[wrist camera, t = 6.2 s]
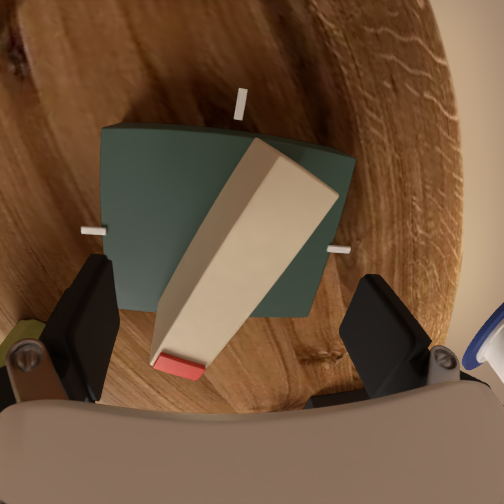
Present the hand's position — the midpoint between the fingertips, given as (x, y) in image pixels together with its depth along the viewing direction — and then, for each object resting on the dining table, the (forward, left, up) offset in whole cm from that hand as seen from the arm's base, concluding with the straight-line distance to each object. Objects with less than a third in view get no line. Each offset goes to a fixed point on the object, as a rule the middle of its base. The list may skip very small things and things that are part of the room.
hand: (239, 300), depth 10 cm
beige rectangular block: (0, 0, -4) cm, 4 cm away
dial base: (0, 0, -8) cm, 8 cm away
